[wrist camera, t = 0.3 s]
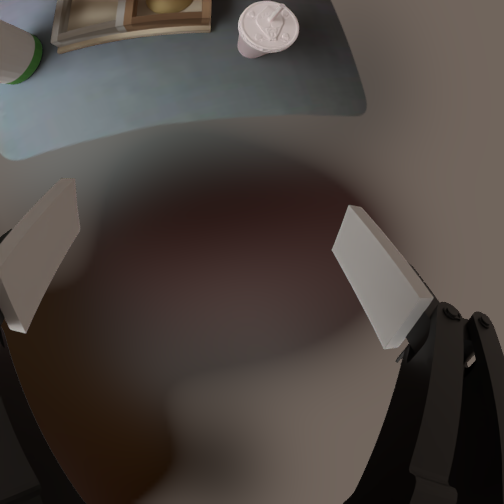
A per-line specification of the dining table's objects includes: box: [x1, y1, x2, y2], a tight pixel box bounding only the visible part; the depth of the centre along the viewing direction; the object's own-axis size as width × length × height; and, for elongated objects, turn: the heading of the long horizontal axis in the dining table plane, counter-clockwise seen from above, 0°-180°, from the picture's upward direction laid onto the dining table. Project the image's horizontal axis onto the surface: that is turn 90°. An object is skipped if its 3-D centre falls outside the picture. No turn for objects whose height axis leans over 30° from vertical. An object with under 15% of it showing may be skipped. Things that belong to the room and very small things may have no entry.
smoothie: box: [238, 1, 299, 58], centre depth 25 cm, size 6×6×14 cm
